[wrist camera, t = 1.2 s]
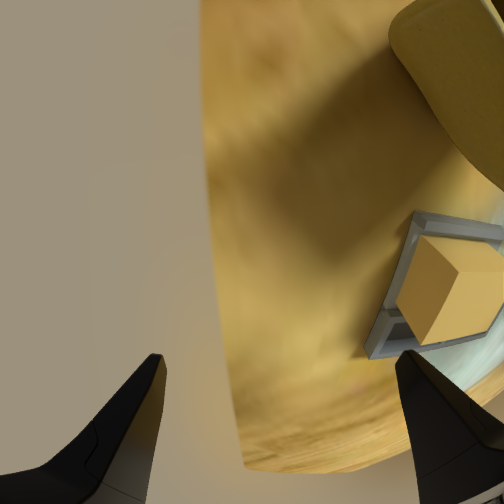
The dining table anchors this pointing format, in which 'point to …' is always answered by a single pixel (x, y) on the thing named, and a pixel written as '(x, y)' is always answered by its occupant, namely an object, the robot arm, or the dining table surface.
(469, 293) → the ochre block
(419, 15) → the flower pot
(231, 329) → the dining table surface
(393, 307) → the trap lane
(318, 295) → the dining table surface
